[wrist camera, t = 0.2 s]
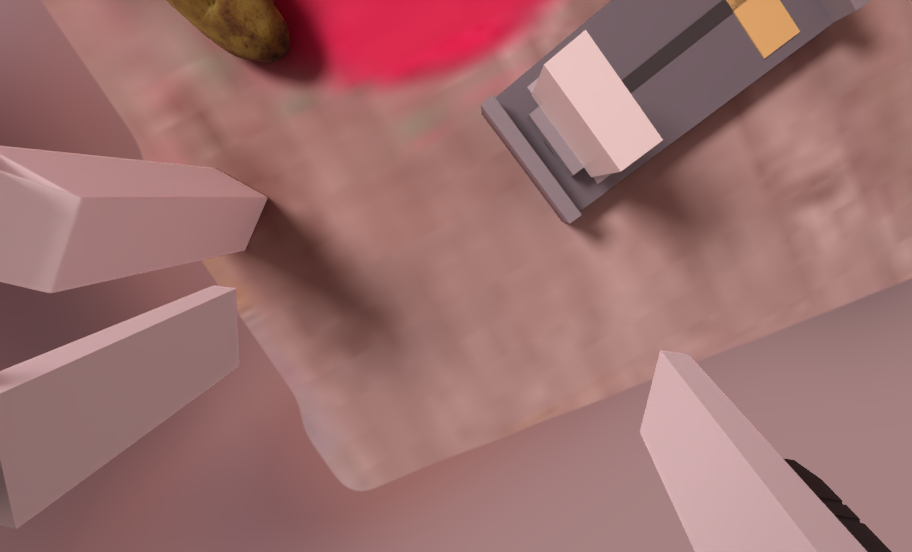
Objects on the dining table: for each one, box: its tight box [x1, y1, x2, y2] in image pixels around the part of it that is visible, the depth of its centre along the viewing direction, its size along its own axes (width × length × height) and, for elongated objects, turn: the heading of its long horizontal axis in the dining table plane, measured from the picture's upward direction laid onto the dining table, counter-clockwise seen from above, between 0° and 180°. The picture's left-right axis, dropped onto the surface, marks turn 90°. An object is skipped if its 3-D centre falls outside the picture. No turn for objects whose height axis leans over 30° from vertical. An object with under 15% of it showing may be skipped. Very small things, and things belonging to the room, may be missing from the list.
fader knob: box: [528, 30, 663, 177], centre depth 30 cm, size 5×8×10 cm, turn 38°
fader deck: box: [481, 0, 870, 224], centre depth 34 cm, size 26×12×4 cm, turn 128°
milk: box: [0, 146, 268, 293], centre depth 30 cm, size 6×6×22 cm
